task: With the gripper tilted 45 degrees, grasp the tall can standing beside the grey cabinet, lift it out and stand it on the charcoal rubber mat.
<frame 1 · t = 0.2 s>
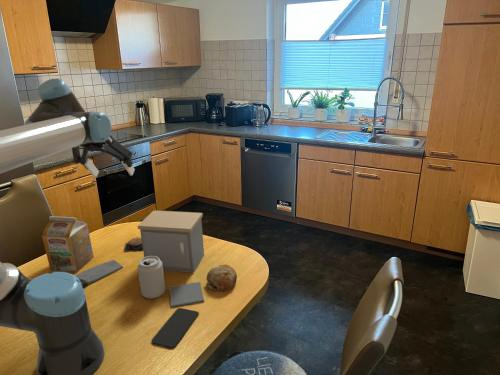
hand: (114, 173, 127), 34 cm above the table, tool tilted 30°, fingers open, 13 cm apart
phone: (176, 328, 104), on the table
cleaver: (81, 282, 127), on the table
mat: (186, 294, 118), on the table
bread roll: (222, 283, 124), on the table
milk carton: (72, 264, 138), on the table
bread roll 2: (138, 247, 149), on the table
cabinet: (175, 261, 137), on the table
can: (153, 293, 120), on the table
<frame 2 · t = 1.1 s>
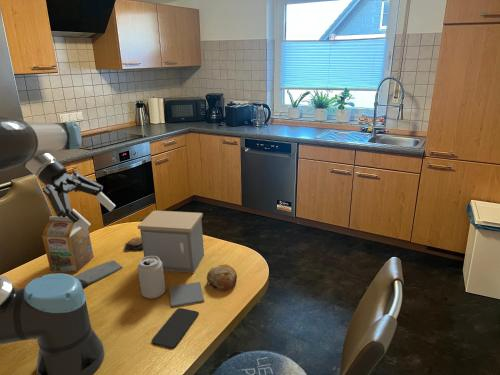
hand: (101, 217, 113), 26 cm above the table, tool tilted 45°, fingers open, 13 cm apart
nothing on the table moved.
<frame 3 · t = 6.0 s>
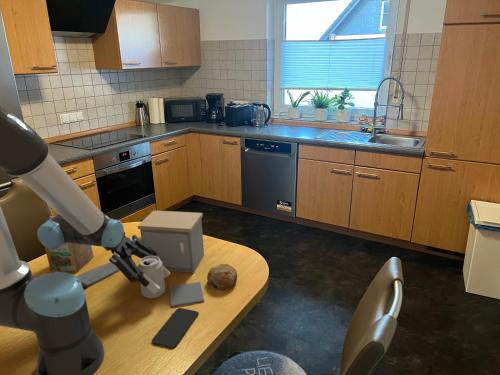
hand: (162, 282, 117), 4 cm above the table, tool tilted 45°, fingers closed on can, 7 cm apart
cleaver: (80, 285, 126), on the table
can: (154, 293, 119), on the table, touching gripper
everything else where it was.
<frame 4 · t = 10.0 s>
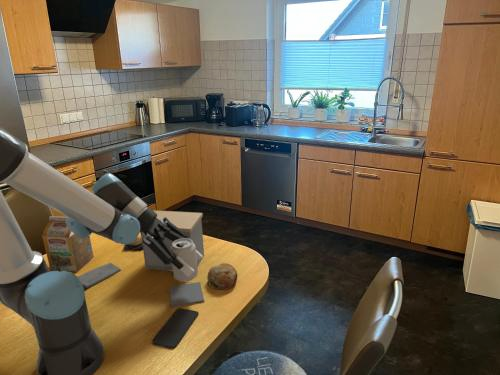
hand: (195, 265, 114), 10 cm above the table, tool tilted 45°, fingers closed on can, 7 cm apart
cleaver: (79, 287, 125), on the table
can: (186, 276, 116), point 6 cm above the table, touching gripper
everything else where it was.
when the fingers open (6 cm above the table, at t = 11.4 s): can drops 1 cm, resting on mat.
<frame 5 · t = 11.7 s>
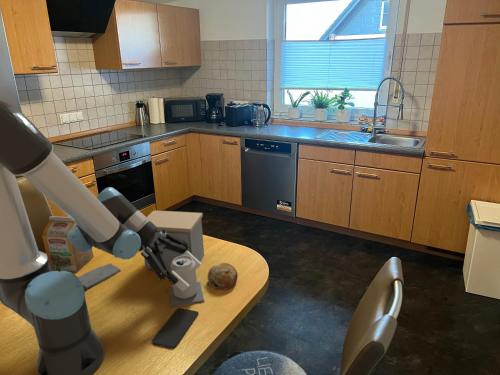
hand: (192, 276, 115), 7 cm above the table, tool tilted 45°, fingers open, 11 cm apart
can: (185, 293, 118), resting on mat
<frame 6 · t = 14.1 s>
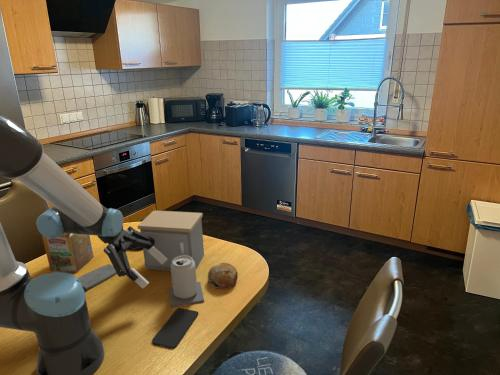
hand: (156, 273, 117), 7 cm above the table, tool tilted 45°, fingers open, 13 cm apart
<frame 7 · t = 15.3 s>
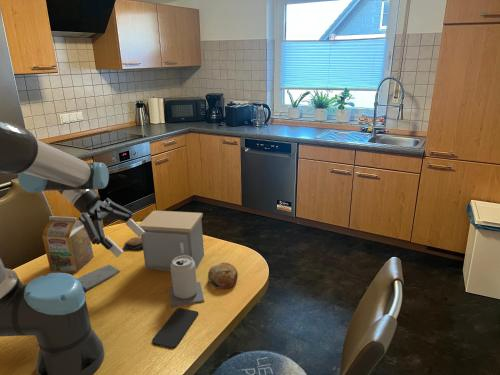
hand: (132, 244, 118), 16 cm above the table, tool tilted 45°, fingers open, 13 cm apart
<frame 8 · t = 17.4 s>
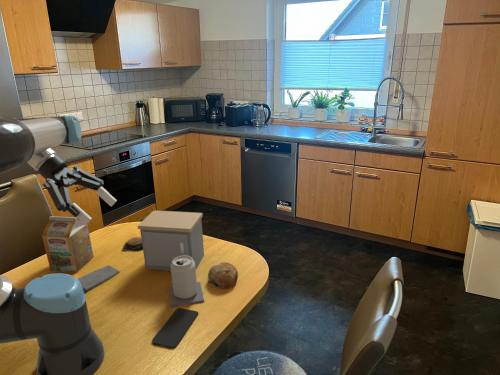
hand: (102, 212, 112), 28 cm above the table, tool tilted 45°, fingers open, 13 cm apart
at the end: can 0.1 cm off-centre on the mat, point 0.4 cm above the mat's base; can tilted 0°; the gripper is holding nothing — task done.
